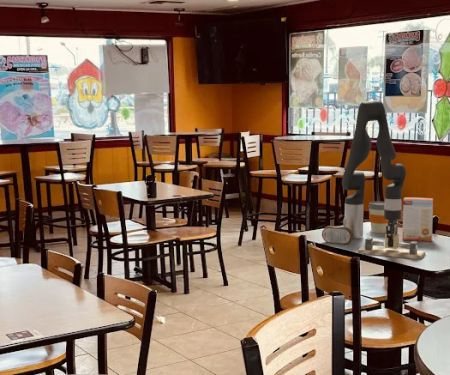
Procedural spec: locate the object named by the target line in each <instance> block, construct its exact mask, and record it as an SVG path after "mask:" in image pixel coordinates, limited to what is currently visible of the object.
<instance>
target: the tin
mask: <svg viewBox="0 0 450 375" xmlns="http://www.w3.org/2000/svg"><path fill="white" fill-rule="evenodd" d="M321 237H322V239H323V240H324V242H325V243H327V244H335V245H348V244H350V243H351V242H352V240H354V239H353V233H352V231H351V230H350V229H349V228H347V227H343V226H338V225H327V226H325V227H324V228H323V229H322V232H321Z"/></svg>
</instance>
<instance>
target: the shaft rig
mask: <svg viewBox="0 0 450 375" xmlns="http://www.w3.org/2000/svg"><path fill="white" fill-rule="evenodd" d="M373 238H374V237H366V238H365V239H364V245H363V246H362V247H360V248H358V249H357V253H358V254H363V253H366V254H365V255H374V256H375V255H376V256H385V257H394V258H395V257H396V258H403V259H404V258H406V259H413V260H414V259H415V260H422V259H423V258H424V257H425V256H426V251H425V250H418V249H419V248H418V246H419V245H418V241H415V240H411V242H410V243H407V242H399V247H398V248H397V249H391V248H385V240H376V239H375V240H374V239H373Z"/></svg>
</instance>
